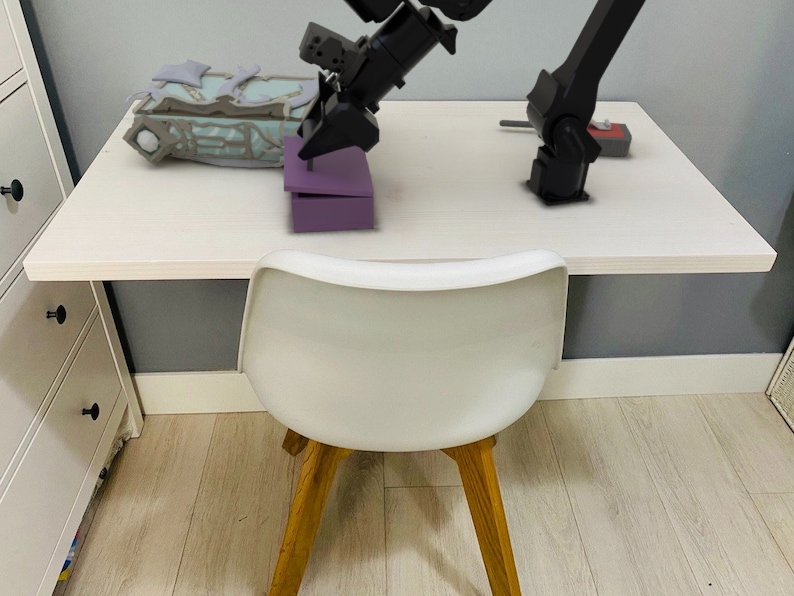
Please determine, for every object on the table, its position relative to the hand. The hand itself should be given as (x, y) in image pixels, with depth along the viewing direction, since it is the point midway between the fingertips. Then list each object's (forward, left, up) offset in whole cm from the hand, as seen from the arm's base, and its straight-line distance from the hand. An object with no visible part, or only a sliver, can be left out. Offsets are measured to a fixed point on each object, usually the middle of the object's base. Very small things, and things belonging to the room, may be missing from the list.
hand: (299, 146), depth 79 cm
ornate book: (+5, -21, -8) cm, 23 cm away
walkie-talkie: (-42, -8, -8) cm, 44 cm away
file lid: (-3, +1, -3) cm, 4 cm away
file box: (-3, +1, -8) cm, 9 cm away
